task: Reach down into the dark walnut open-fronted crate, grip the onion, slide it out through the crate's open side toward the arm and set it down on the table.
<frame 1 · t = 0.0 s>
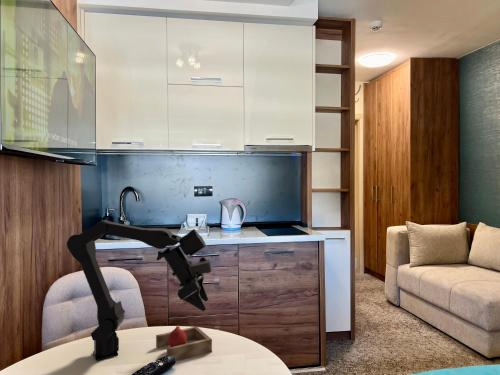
hand: (205, 305, 113), 15 cm above the table, tool tilted 35°, fingers open, 9 cm apart
crate: (183, 349, 115), on the table
onion: (177, 351, 113), resting in crate
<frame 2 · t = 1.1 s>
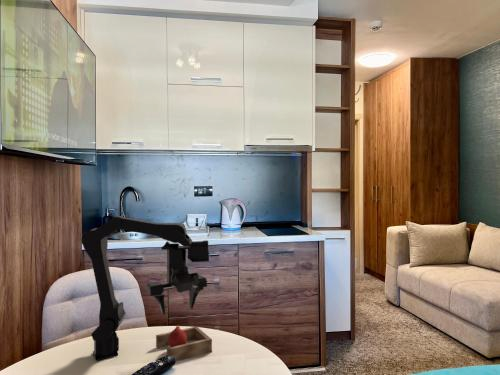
hand: (177, 311, 113), 13 cm above the table, tool pointing down, fingers open, 9 cm apart
nothing on the table moved.
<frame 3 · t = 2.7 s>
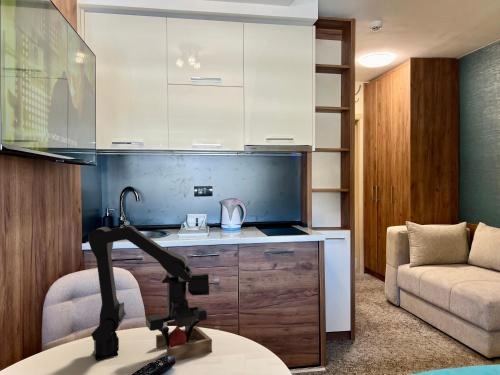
hand: (177, 344, 114), 2 cm above the table, tool pointing down, fingers closed on onion, 6 cm apart
onion: (177, 351, 114), resting in crate, touching gripper
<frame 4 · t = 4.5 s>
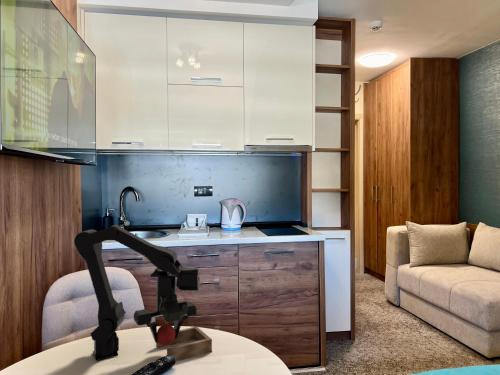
hand: (165, 340, 112), 4 cm above the table, tool pointing down, fingers closed on onion, 6 cm apart
onion: (165, 347, 112), point 2 cm above the table, touching gripper
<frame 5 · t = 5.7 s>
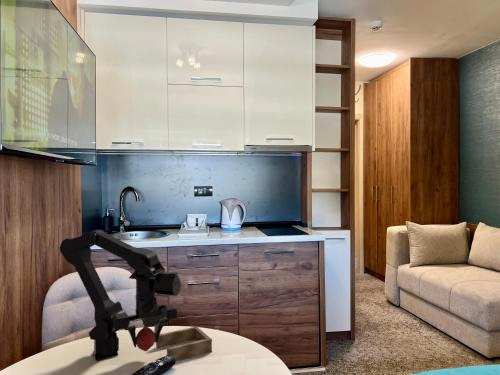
hand: (145, 344, 108), 4 cm above the table, tool pointing down, fingers closed on onion, 6 cm apart
onion: (145, 351, 108), point 2 cm above the table, touching gripper
when the fingers open (3 cm above the table, at t = 6.4 s): onion stays where it is, on the table.
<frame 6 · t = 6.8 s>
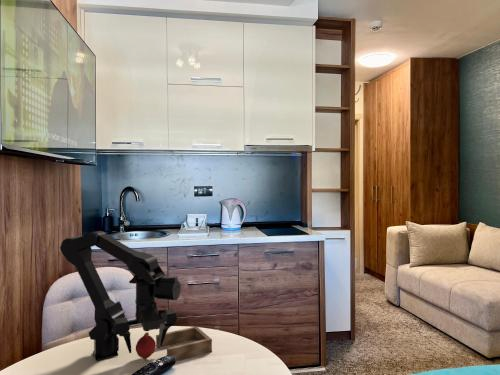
hand: (145, 349, 108), 3 cm above the table, tool pointing down, fingers open, 9 cm apart
onion: (145, 359, 108), on the table
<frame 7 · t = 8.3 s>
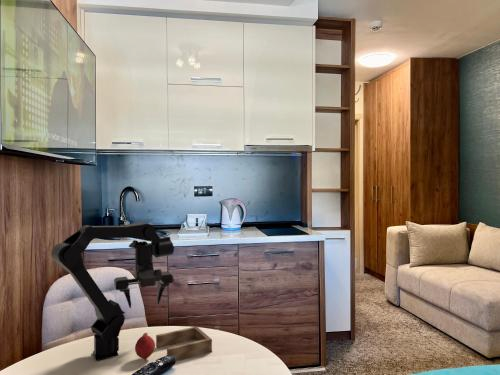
hand: (144, 305, 121), 12 cm above the table, tool pointing down, fingers open, 9 cm apart
nothing on the table moved.
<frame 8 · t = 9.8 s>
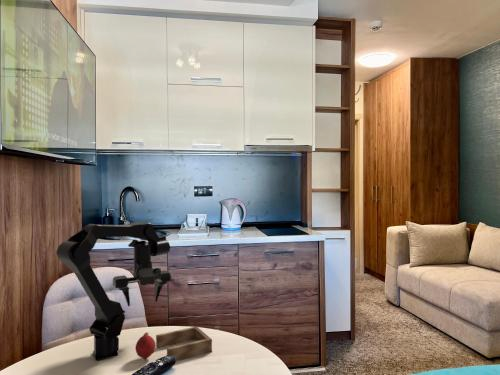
hand: (142, 303, 123), 12 cm above the table, tool pointing down, fingers open, 9 cm apart
nothing on the table moved.
at the end: onion inside the target area (0.2 cm from its centre), on the table; the gripper is holding nothing; onion moved 10.2 cm from its start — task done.
